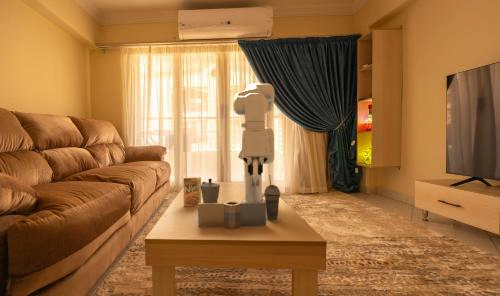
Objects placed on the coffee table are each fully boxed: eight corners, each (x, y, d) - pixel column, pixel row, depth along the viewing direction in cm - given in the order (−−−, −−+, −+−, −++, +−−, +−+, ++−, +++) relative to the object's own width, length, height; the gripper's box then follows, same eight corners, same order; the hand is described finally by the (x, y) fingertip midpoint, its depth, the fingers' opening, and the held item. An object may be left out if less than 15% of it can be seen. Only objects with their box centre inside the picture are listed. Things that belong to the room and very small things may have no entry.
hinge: (197, 229, 109) (196, 205, 108) (199, 224, 115) (199, 201, 115) (266, 228, 110) (266, 204, 109) (265, 223, 116) (265, 201, 116)
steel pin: (254, 184, 105) (254, 153, 105) (260, 185, 103) (260, 154, 103) (249, 185, 103) (249, 154, 102) (256, 186, 101) (256, 154, 101)
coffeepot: (226, 218, 123) (225, 179, 122) (207, 222, 118) (206, 181, 117) (211, 211, 136) (211, 175, 135) (193, 214, 131) (193, 177, 130)
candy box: (183, 206, 146) (183, 178, 146) (185, 204, 150) (185, 176, 150) (199, 206, 146) (199, 178, 145) (201, 204, 150) (201, 177, 149)
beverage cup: (276, 222, 117) (276, 176, 116) (261, 220, 120) (261, 175, 119) (282, 218, 123) (282, 174, 122) (268, 216, 127) (268, 173, 126)
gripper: (233, 126, 98) (233, 176, 99) (277, 126, 99) (277, 176, 100) (233, 127, 106) (234, 173, 107) (275, 126, 106) (275, 173, 107)
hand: (255, 174), depth 103 cm, fingers closed on steel pin, 3 cm apart
